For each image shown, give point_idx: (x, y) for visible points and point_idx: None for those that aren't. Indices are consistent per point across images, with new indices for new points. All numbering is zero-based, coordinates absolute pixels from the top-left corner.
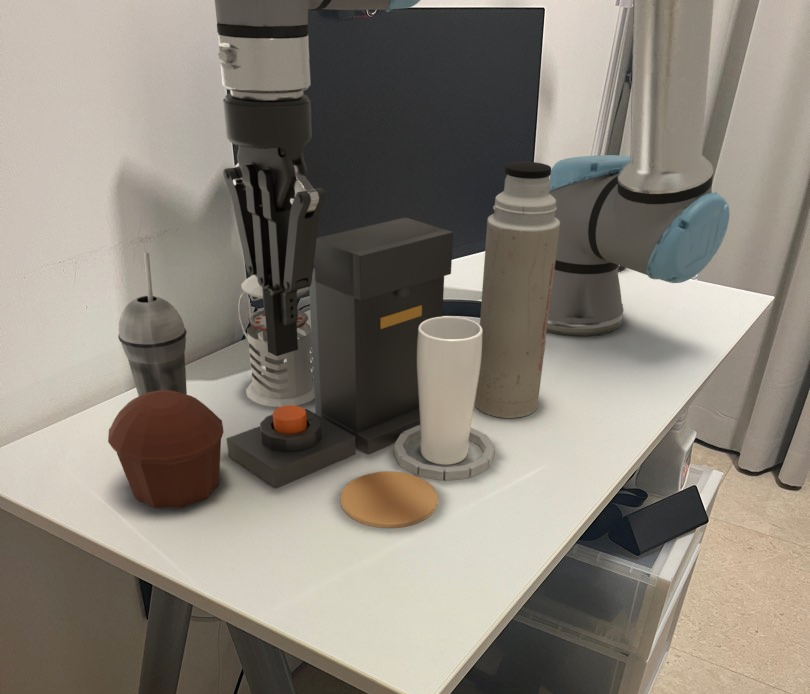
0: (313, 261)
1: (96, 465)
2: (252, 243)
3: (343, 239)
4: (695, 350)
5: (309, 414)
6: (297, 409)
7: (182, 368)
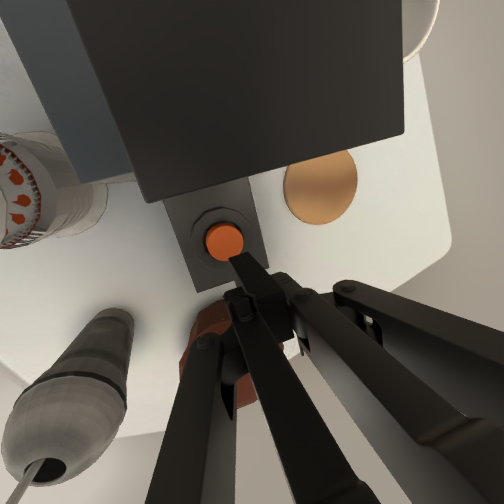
0: (412, 301)
1: (166, 379)
2: (231, 438)
3: (206, 78)
4: None
5: (210, 213)
6: (222, 233)
7: (110, 349)
